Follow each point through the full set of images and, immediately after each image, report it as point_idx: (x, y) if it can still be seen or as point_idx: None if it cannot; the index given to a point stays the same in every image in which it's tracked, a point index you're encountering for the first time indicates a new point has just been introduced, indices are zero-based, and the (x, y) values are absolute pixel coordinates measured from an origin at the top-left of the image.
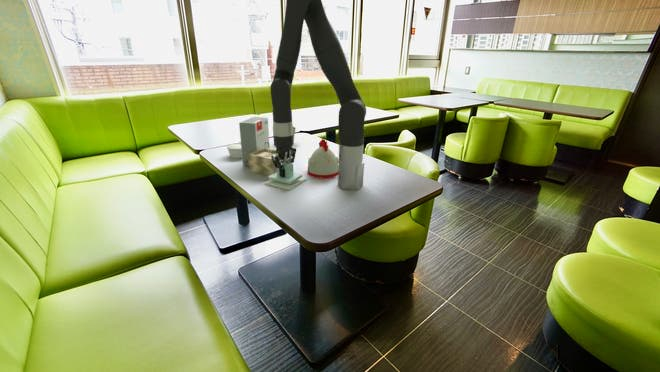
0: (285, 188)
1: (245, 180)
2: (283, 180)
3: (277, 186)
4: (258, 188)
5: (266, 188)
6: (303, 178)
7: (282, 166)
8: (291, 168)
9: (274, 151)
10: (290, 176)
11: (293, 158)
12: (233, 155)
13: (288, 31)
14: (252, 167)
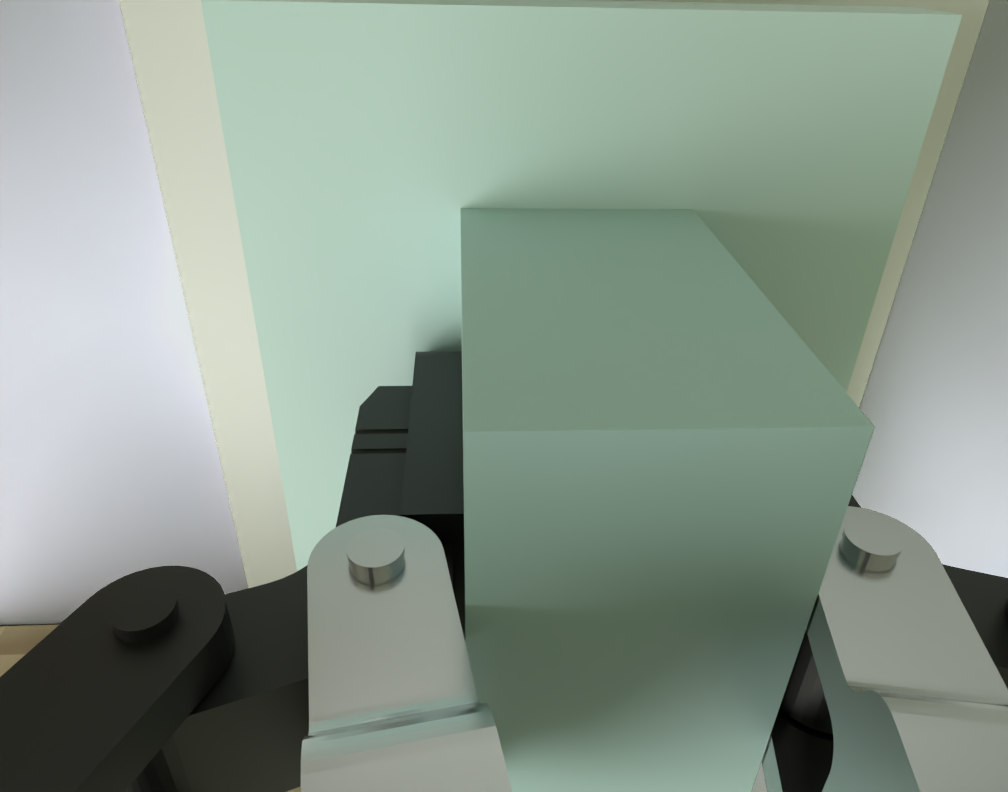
0: (956, 72)
1: (755, 787)
2: (882, 258)
3: (886, 304)
4: (992, 529)
5: (966, 433)
6: (154, 2)
7: (939, 612)
8: (601, 334)
9: None
10: (627, 220)
11: (37, 753)
12: None
13: None
14: None
